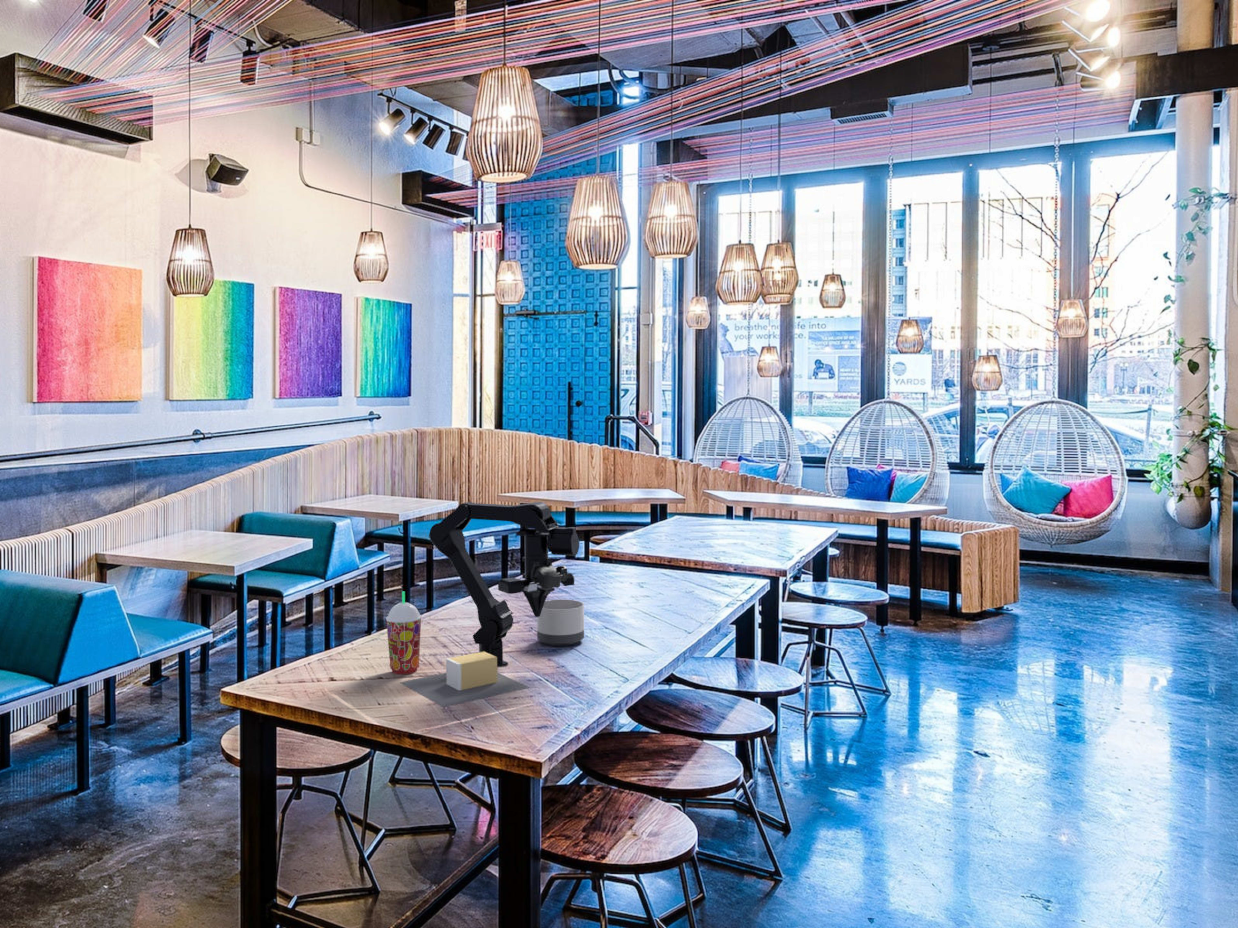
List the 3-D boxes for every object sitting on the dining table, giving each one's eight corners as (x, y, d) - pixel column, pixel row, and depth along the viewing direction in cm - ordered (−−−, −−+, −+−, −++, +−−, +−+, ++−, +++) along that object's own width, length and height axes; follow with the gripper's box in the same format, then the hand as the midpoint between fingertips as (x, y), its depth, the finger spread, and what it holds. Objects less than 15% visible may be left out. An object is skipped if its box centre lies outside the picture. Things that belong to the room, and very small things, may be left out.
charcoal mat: (399, 684, 217) (399, 682, 217) (482, 667, 231) (482, 665, 231) (443, 709, 200) (443, 706, 200) (530, 689, 213) (530, 687, 213)
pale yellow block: (446, 658, 215) (484, 651, 221) (446, 683, 216) (484, 676, 222) (458, 664, 210) (496, 656, 217) (459, 690, 211) (497, 682, 217)
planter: (556, 651, 246) (556, 612, 245) (527, 641, 255) (527, 603, 254) (593, 642, 254) (593, 604, 253) (564, 633, 264) (564, 597, 263)
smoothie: (384, 669, 229) (383, 589, 227) (418, 665, 232) (417, 586, 230) (390, 679, 221) (388, 596, 219) (425, 675, 224) (424, 593, 223)
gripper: (519, 562, 216) (520, 628, 217) (586, 554, 226) (587, 617, 227) (496, 556, 225) (497, 619, 226) (562, 548, 235) (562, 609, 237)
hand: (537, 616), depth 229 cm, fingers closed
